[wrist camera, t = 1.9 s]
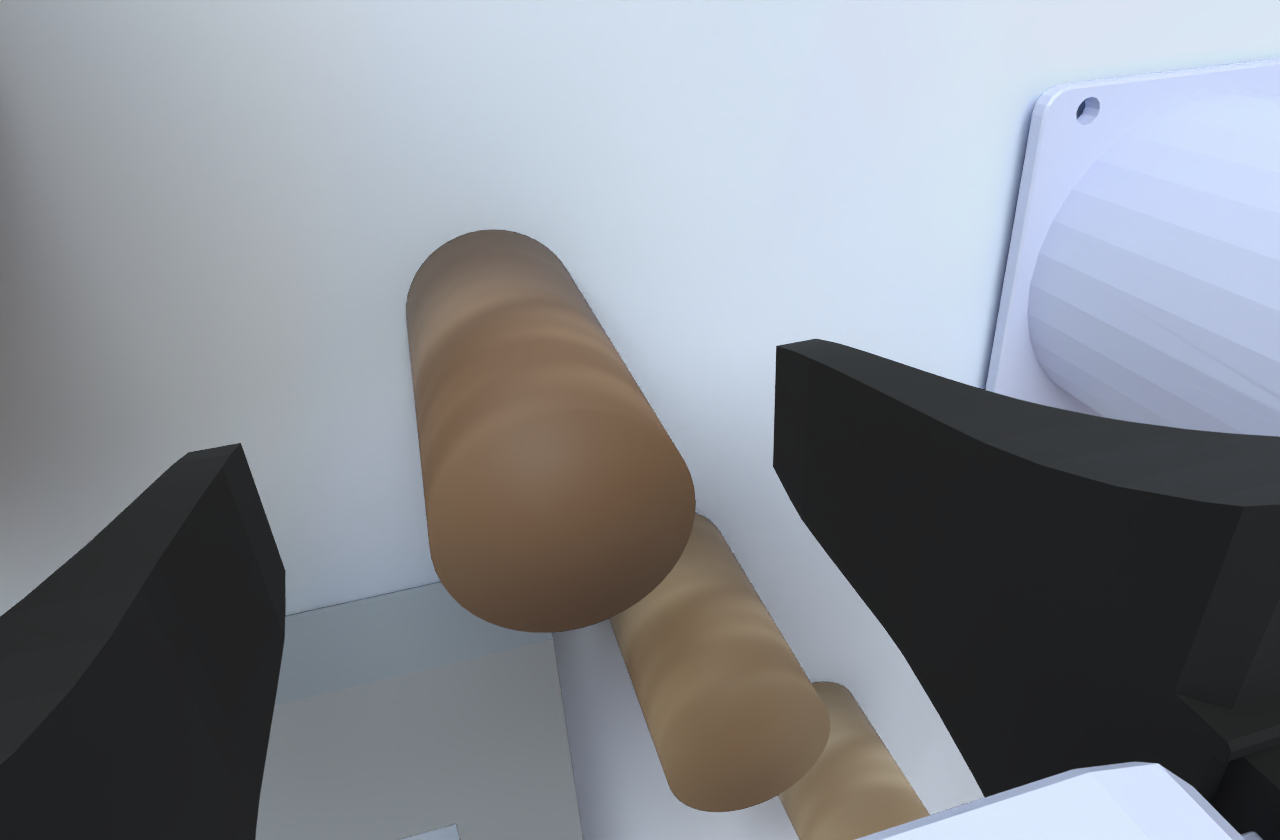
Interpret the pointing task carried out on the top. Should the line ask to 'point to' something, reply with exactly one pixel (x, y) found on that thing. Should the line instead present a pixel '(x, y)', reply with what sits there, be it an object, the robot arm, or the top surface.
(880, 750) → the short dowel
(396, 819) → the hole board
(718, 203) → the top surface
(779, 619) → the top surface
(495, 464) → the tall dowel
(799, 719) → the mid dowel
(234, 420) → the top surface
